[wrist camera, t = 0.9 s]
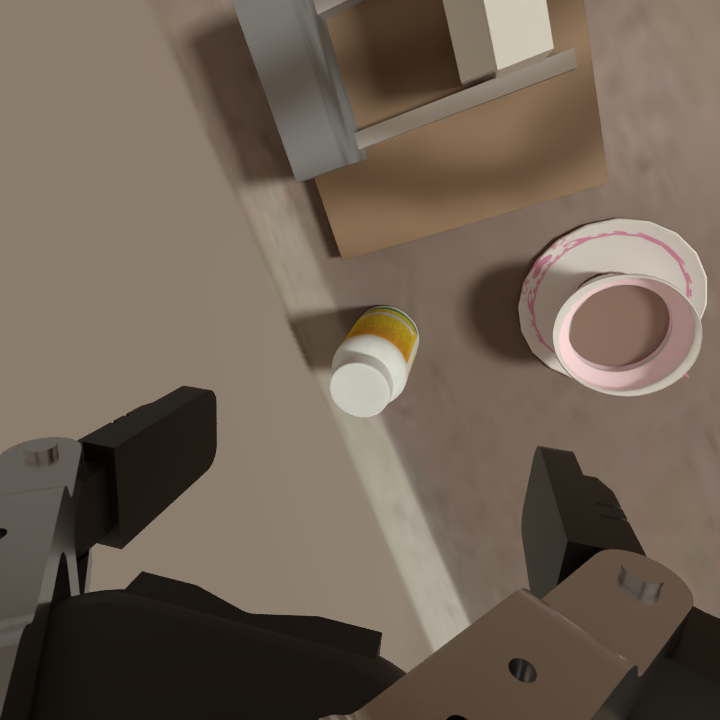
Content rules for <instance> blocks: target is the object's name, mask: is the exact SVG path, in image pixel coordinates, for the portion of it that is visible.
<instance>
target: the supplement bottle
mask: <svg viewBox="0 0 720 720" xmlns="http://www.w3.org/2000/svg"><path fill="white" fill-rule="evenodd" d="M418 345H419V333H418V330H417V327H416V325H415V323H414V322H413V321H412V319H411V318H410V317H409V316H408V315H407V314H406V313H404V312H403V311H401V310H400V309H397V308H395V307H391V306H378V307H374V308H372V309H370V310H368V311H366V312H365V313H364V314H363V315H362V316H361V317H360V318H359V319H358V321H357V322H356V323H355V325H354V326H353V328H352V329H351V331H350V332H349V333H348V335H347V336H346V338H345V339H344V341H343V342H342V343H341V345H340V346H339V348H338V349H337V351H336V353H335V355H334V357H333V361H332V377H331V380H330V385H329V387H330V394H331V397H332V399H333V401H334V402H335V403H336V405H337V406H338V407H339V408H340V409H341V410H343V411H344V412H346V413H348V414H350V415H353V416H357V417H370V416H374V415H376V414H378V413H380V412H381V411H382V410H383V409H384V408H385V407H386V405H387V404H388V403H389V402H391V401H393V400H394V399H395V398H397V397H398V396H399V395H400V393H401V392H402V391H403V389H404V387H405V385H406V382H407V379H408V376H409V373H410V370H411V367H412V364H413V361H414V358H415V355H416V353H417V349H418Z"/></svg>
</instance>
